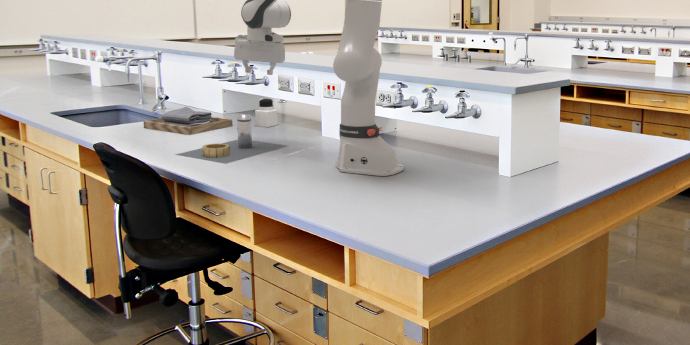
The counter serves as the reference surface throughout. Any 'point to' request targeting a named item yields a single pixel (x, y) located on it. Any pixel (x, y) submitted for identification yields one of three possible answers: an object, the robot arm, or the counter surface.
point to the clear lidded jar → (244, 131)
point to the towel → (186, 117)
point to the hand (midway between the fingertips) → (258, 73)
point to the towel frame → (215, 124)
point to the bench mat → (236, 151)
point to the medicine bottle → (266, 114)
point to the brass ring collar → (216, 150)
